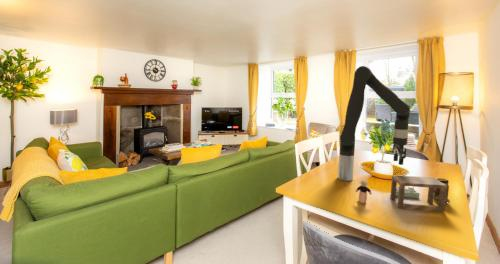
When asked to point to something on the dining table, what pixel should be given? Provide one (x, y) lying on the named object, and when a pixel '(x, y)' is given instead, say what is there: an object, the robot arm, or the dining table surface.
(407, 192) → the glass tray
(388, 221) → the dining table surface
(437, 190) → the condiment
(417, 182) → the brown wooden side table
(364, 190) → the grandmother figurine
